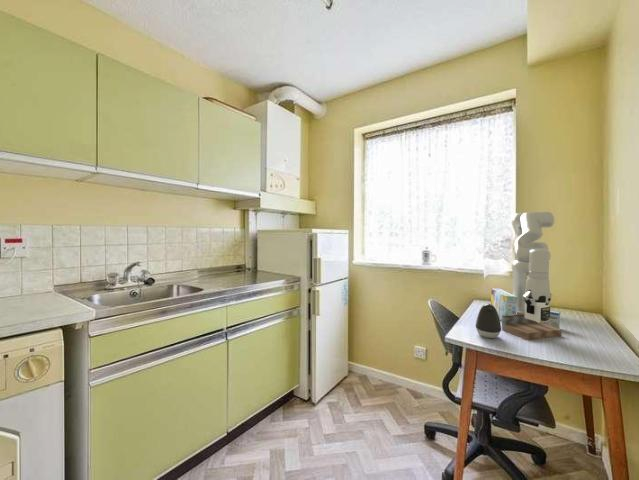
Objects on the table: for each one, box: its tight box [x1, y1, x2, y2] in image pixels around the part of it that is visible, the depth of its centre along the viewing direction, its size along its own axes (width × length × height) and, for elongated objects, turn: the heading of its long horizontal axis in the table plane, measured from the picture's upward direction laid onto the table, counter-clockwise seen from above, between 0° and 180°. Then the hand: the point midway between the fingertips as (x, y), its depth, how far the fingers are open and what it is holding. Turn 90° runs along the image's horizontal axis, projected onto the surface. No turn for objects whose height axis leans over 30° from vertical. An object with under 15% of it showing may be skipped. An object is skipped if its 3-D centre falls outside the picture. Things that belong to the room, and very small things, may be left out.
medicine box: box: [539, 310, 561, 329], centre depth 145 cm, size 8×4×9 cm, turn 47°
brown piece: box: [501, 313, 563, 341], centre depth 138 cm, size 20×14×7 cm
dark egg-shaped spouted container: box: [475, 303, 502, 339], centre depth 133 cm, size 10×10×15 cm
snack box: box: [490, 288, 517, 322], centre depth 160 cm, size 21×6×15 cm, turn 168°
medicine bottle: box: [525, 296, 551, 323], centre depth 135 cm, size 7×7×12 cm
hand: (537, 312), depth 135 cm, fingers closed on medicine bottle, 7 cm apart
